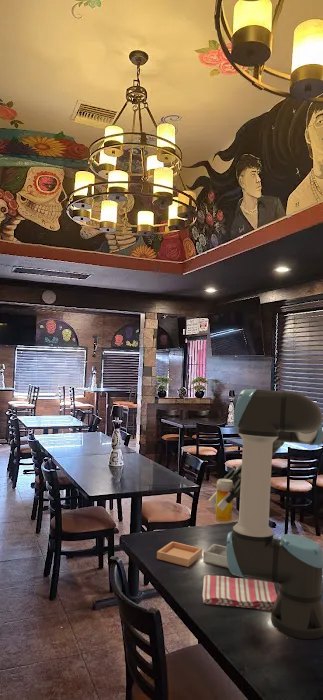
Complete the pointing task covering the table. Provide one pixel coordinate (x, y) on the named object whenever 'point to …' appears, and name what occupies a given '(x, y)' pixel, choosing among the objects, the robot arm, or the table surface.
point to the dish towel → (238, 592)
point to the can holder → (216, 555)
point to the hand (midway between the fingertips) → (215, 505)
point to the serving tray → (179, 553)
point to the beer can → (221, 492)
